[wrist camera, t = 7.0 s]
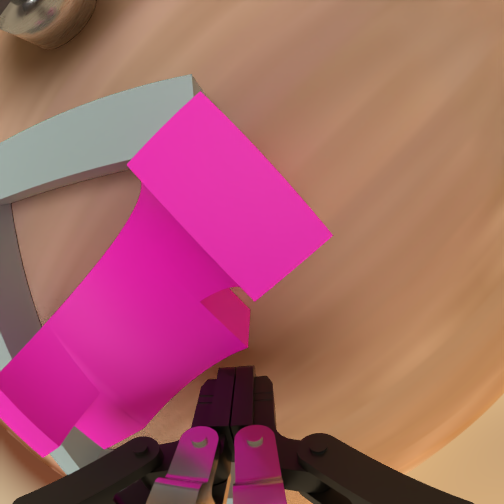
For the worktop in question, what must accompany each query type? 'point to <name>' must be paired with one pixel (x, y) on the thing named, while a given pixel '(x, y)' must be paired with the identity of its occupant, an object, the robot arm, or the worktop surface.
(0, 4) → the wheel
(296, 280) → the worktop surface
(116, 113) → the grey u-shaped bracket
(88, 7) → the axle hub
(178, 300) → the toy block
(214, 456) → the robot arm
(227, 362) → the worktop surface
